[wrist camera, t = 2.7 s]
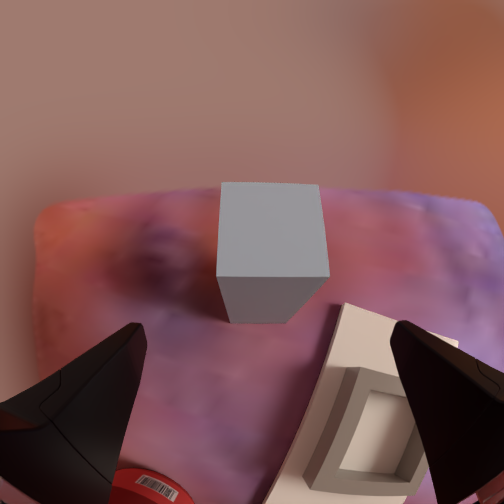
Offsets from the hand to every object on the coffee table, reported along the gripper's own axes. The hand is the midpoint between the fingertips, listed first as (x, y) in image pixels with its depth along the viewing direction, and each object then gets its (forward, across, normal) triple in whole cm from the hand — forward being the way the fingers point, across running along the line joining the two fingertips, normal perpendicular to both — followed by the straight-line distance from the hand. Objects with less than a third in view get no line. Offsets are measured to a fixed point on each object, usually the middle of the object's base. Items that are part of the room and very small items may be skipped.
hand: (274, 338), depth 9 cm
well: (+2, -9, +13) cm, 16 cm away
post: (+11, 0, +5) cm, 12 cm away
